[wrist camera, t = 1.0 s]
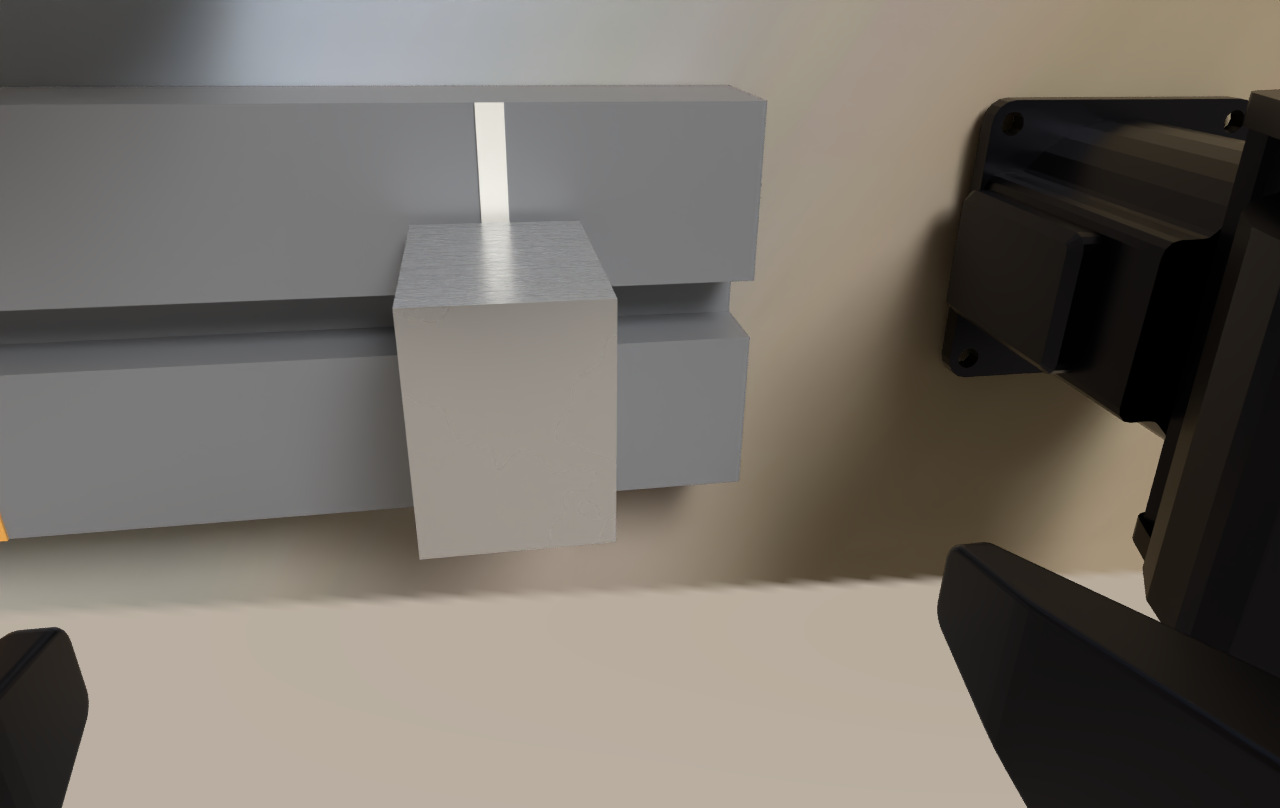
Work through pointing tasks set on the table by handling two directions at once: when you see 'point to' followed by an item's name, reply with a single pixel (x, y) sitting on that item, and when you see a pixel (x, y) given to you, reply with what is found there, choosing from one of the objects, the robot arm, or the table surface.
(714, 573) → the table surface
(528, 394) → the fader tab
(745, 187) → the slider console
